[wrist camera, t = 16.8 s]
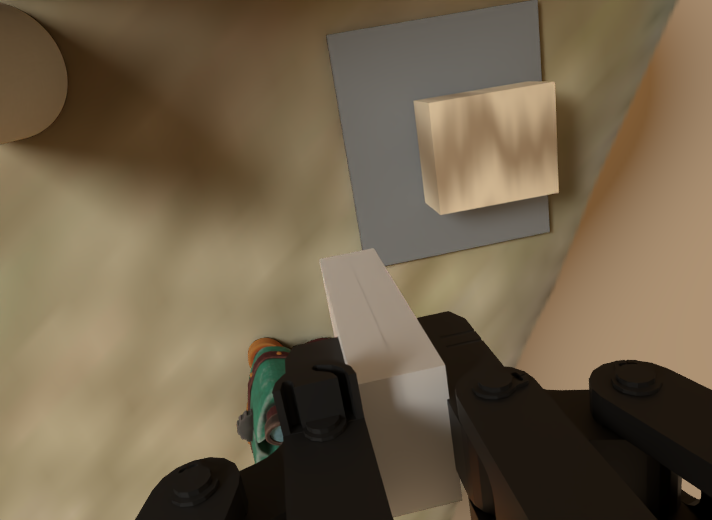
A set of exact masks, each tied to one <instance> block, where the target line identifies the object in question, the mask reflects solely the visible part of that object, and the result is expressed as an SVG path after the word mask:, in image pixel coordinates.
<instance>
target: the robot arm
mask: <svg viewBox="0 0 712 520" xmlns="http://www.w3.org/2000/svg"><path fill="white" fill-rule="evenodd" d="M319 261H320V266H321V271H322V276H323V281H324V286H325V291H326V296H327V301H328V306H329V311H330V316H331V322H332V327H333V332H334V337H335V338H330V339H325V340H321V341H316V342H311V343H307V344H302V345H298V346H293V348H292V350H291V351H290V353H289V354H288V356H287V357H286V359H285V374H283V375H282V376H281V377H280V378H279V379H278V380H277V382H276V383H275V385H274V388H273V391H272V394H273V398H274V402H275V406H276V410H277V414H278V418H279V422H280V426H281V430H282V434H283V443H282V444H281V445H280V446H279V447H278V448H277V450H276V451H274V452H273V453H272V454H270V455H269V456H268V457H267V458H265V459H263V460H261V461H260V462H258V463H256V464H254V465H252V466H250V467H248V468H245V469H243V470H241V471H239V470H238V468H237V466H236V465H235V463H233V462H231V461H229V460H227V459H225V458H213V457H209V458H204V459H199V460H194V461H192V462H189V463H187V464H184V465H182V466H180V467H178V468H176V469H175V470H173V471H172V472H171V473H169V474H168V475H167V476H165V477H164V478H162V480H161V481H160V482H159V483H158V484H157V486H156V487H155V488H154V489H153V490H152V492H151V494H150V495H149V497H148V499H147V500H146V502H145V504H144V505H143V507H142V509H141V511H140V512H139V514H138V516H137V517H136V519H135V520H393V517H397V516H401V515H405V514H409V513H413V512H417V511H421V510H425V509H429V508H433V507H437V506H441V505H445V504H449V503H454V502H458V501H462V494H461V486H460V479H461V481H462V483H463V486H464V488H465V490H466V492H467V494H468V498H469V506H470V513H471V520H712V390H711V389H708V388H706V387H704V386H702V385H700V384H698V383H696V382H694V381H692V380H690V379H688V378H686V377H684V376H682V375H680V374H678V373H676V372H674V371H672V370H669V369H667V368H664V367H662V366H659V365H656V364H653V363H649V362H642V361H637V360H627V361H625V360H621V361H615V362H611V363H607V364H603V365H601V366H600V367H598V368H596V369H595V370H593V372H592V374H591V376H590V378H589V390H563V391H562V390H545V389H543V388H542V387H541V386H540V385H539V384H538V382H537V381H536V380H535V379H534V378H533V377H531V376H530V375H529V374H527V373H526V372H525V371H521V370H518V369H515V368H512V367H504V366H503V365H502V363H501V362H500V361H499V360H498V359H497V357H496V356H495V355H494V354H493V352H492V351H491V350H490V349H489V347H488V346H487V345H486V344H485V343H484V341H482V340H481V338H480V336H479V335H478V334H477V333H476V331H475V332H474V329H473V328H472V327H471V325H470V324H469V323H468V322H467V320H466V319H465V318H463V317H460V316H458V315H456V314H454V313H452V312H449V311H447V312H442V313H438V314H433V315H428V316H424V317H419V318H416V317H415V315H414V313H413V312H412V310H411V308H410V307H409V305H408V303H407V302H406V300H405V299H404V297H403V295H402V294H401V292H400V290H399V289H398V287H397V285H396V284H395V282H394V281H393V279H392V277H391V276H390V274H389V272H388V271H387V269H386V267H385V266H384V264H383V263H382V261H381V259H380V258H379V256H378V254H377V253H376V251H375V249H374V248H371V249H366V250H362V251H357V252H352V253H347V254H342V255H337V256H332V257H327V258H322V259H319ZM459 477H460V478H459ZM682 478H683V479H685V480H686V481H688V482H689V483H691V484H692V485H694V486H695V487H697V488H698V489H700V490H701V499H696V498H694V497H692V496H690V495H689V494H687V493H686V492H685V491H683V490H682V489H681V483H682Z"/></svg>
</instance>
